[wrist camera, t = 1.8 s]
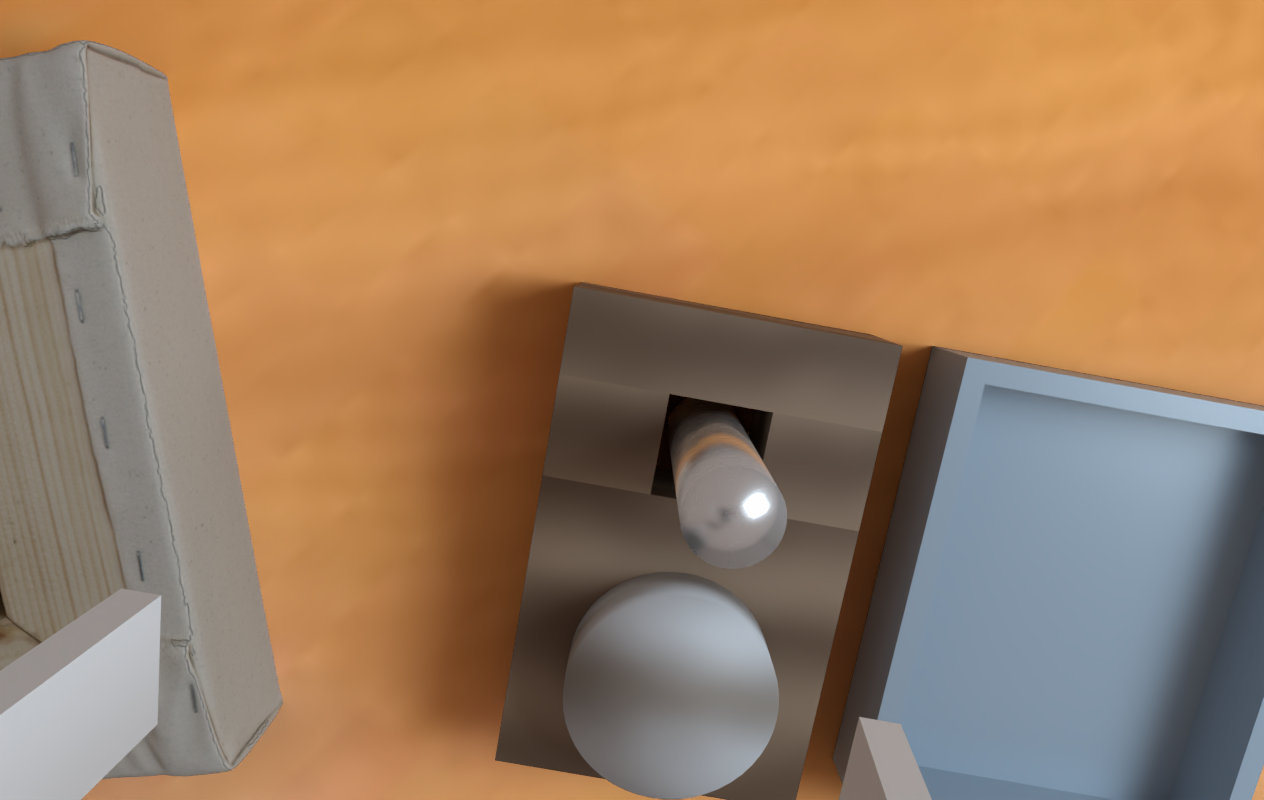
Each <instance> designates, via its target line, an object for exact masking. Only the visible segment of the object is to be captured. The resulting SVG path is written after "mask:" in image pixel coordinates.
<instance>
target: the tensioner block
mask: <svg viewBox="0 0 1264 800" xmlns="http://www.w3.org/2000/svg"><path fill="white" fill-rule="evenodd" d="M901 351H902V346H901V345H898V344H895V343H893V342H890V341H887V340H884V339H882V338H879V337H876V336H873V335H870V334H865V333H859V332H854V331H848V330H843V329H837V328H832V327H826V326H821V325H815V324H810V323H804V322H799V321H793V320H788V319H782V318H777V317H771V316H765V315H760V314H754V313H749V312H743V311H738V310H732V309H727V308H721V307H716V306H710V305H705V304H699V303H694V302H688V301H683V300H677V299H672V298H666V297H661V296H655V295H650V294H644V293H639V292H633V291H628V290H622V289H617V288H611V287H606V286H600V285H595V284H589V283H584V282H582V283H580V284H578V285H576V286H574V290H573V296H572V302H571V308H570V314H569V320H568V326H567V332H566V338H565V344H564V350H563V356H562V362H561V368H560V374H559V380H558V386H557V392H556V398H555V404H554V410H553V416H552V422H551V428H550V434H549V440H548V446H547V452H546V458H545V464H544V470H543V476H542V482H541V488H540V494H539V500H538V506H537V512H536V518H535V524H534V530H533V536H532V542H531V548H530V554H529V560H528V566H527V572H526V578H525V584H524V590H523V596H522V602H521V608H520V614H519V620H518V626H517V632H516V638H515V644H514V650H513V656H512V662H511V668H510V674H509V680H508V686H507V692H506V698H505V704H504V710H503V716H502V722H501V728H500V734H499V740H498V746H497V752H496V758H495V760H497V761H503V762H509V763H515V764H520V765H526V766H532V767H538V768H544V769H550V770H556V771H562V772H567V773H573V774H579V775H585V776H591V777H597V778H603V779H607V780H608V781H609V782H611V783H612V784H614V785H616V786H618V787H620V788H622V789H624V790H627V791H629V792H632V793H635V794H638V795H642V796H646V797H651V798H659V799H683V798H690V797H695V796H699V795H703V796H708V797H714V798H720V799H726V800H796V796H797V792H798V788H799V784H800V779H801V775H802V771H803V767H804V762H805V758H806V754H807V750H808V745H809V741H810V737H811V733H812V728H813V724H814V720H815V716H816V711H817V707H818V703H819V699H820V694H821V690H822V686H823V682H824V677H825V673H826V669H827V665H828V660H829V656H830V652H831V648H832V644H833V639H834V635H835V631H836V627H837V622H838V618H839V614H840V610H841V605H842V601H843V597H844V593H845V588H846V584H847V580H848V576H849V571H850V567H851V563H852V559H853V554H854V550H855V546H856V542H857V537H858V533H859V529H860V525H861V520H862V516H863V512H864V508H865V503H866V499H867V495H868V491H869V486H870V482H871V478H872V474H873V469H874V465H875V461H876V457H877V453H878V448H879V444H880V440H881V436H882V431H883V427H884V423H885V419H886V414H887V410H888V406H889V402H890V397H891V393H892V389H893V385H894V380H895V376H896V372H897V368H898V363H899V359H900V355H901ZM669 394H673V395H678V396H684V397H690V398H695V399H701V400H706V401H712V402H717V403H723V404H729V405H734V406H740V407H745V408H751V409H754V413H753V418H752V423H751V428H750V432H749V438H750V440H751V442H752V444H753V445H754V447H755V449H756V451H757V452H758V454H759V456H760V457H761V459H762V461H763V463H764V464H765V466H766V468H767V470H768V471H769V473H770V475H771V476H772V478H773V480H774V482H775V483H776V485H777V487H778V489H779V490H780V492H781V494H782V496H783V498H784V501H785V504H786V509H787V524H786V529H785V532H784V535H783V537H782V540H781V541H780V543H779V545H778V546H777V547H776V549H775V550H774V551H773V552H772V553H771V554H770V555H769V556H768V557H766V558H765V559H764V560H762V561H760V562H759V563H757V564H754V565H752V566H749V567H745V568H739V569H726V568H720V567H716V566H714V565H711V564H709V563H707V562H705V561H703V560H702V559H701V558H699V557H698V556H697V555H696V554H695V553H694V552H693V551H692V550H691V549H690V548H689V546H688V544H687V543H686V541H685V539H684V537H683V534H682V531H681V525H680V518H679V511H678V504H677V497H676V490H675V483H674V476H673V470H669V469H664V468H658V467H656V463H657V457H658V452H659V447H660V441H661V436H662V431H663V426H664V420H665V415H666V410H667V405H668V399H669Z"/></svg>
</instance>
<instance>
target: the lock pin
mask: <svg viewBox="0 0 1264 800" xmlns="http://www.w3.org/2000/svg"><path fill="white" fill-rule="evenodd" d="M667 434H668V441H669V448H670V455H671V462H672V469H673V476H674V483H675V490H676V497H677V504H678V511H679V518H680V525H681V531H682V534H683V537H684V539H685V541H686V543H687V544H688V546H689V548H690V549H691V550H692V551H693V552H694V553H695V554H696V555H697V556H698V557H699V558H701V559H702V560H703V561H705V562H707V563H709V564H711V565H714V566H716V567H720V568H726V569H739V568H745V567H749V566H752V565H754V564H757V563H759V562H760V561H762V560H764V559H765V558H766V557H768V556H769V555H770V554H771V553H772V552H773V551H774V550H775V549H776V547H777V546H778V545H779V543H780V541H781V540H782V537H783V535H784V532H785V529H786V524H787V509H786V504H785V501H784V498H783V496H782V494H781V492H780V490H779V489H778V487H777V485H776V483H775V482H774V480H773V478H772V476H771V475H770V473H769V471H768V470H767V468H766V466H765V464H764V463H763V461H762V459H761V457H760V456H759V454H758V452H757V451H756V449H755V447H754V445H753V444H752V442H751V440H750V438H749V437H748V435H747V433H746V431H745V430H744V428H743V426H742V425H741V423H740V421H739V419H738V418H737V416H736V414H735V412H734V411H733V409H732V408H731V407H730V406H729V405H728V404H723V403H717V402H712V401H706V400H701V399H695V398H690V397H689V398H687V399H685V400H684V401H682V402H681V403H680V404H678V405H677V406H676V408H675V409H674V410H673V412H672V414H671V415H670V418H669V421H668V426H667Z"/></svg>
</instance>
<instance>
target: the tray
mask: <svg viewBox="0 0 1264 800" xmlns="http://www.w3.org/2000/svg"><path fill="white" fill-rule="evenodd" d="M859 717H863V718H869V719H875V720H880V721H886V722H892V723H898V724H901V726H902V728H903V731H904V733H905V735H906V738H907V740H908V743H909V745H910V748H911V750H912V752H913V755H914V757H915V760H916V762H917V765H918V767H919V770H920V772H921V774H922V777H923V779H924V782H925V784H926V787H927V789H928V791H929V794H930V796H931V799H932V800H1252V797H1253V794H1254V791H1255V788H1256V785H1257V782H1258V780H1259V777H1260V774H1261V771H1262V768H1263V765H1264V406H1261V405H1256V404H1250V403H1245V402H1239V401H1234V400H1228V399H1223V398H1217V397H1212V396H1206V395H1201V394H1195V393H1190V392H1184V391H1179V390H1173V389H1168V388H1162V387H1157V386H1151V385H1146V384H1140V383H1134V382H1129V381H1123V380H1118V379H1112V378H1107V377H1101V376H1096V375H1090V374H1085V373H1079V372H1074V371H1068V370H1063V369H1057V368H1052V367H1046V366H1041V365H1035V364H1030V363H1024V362H1019V361H1013V360H1008V359H1002V358H997V357H991V356H986V355H980V354H975V353H969V352H964V351H958V350H953V349H947V348H942V347H936V346H932V350H931V354H930V358H929V362H928V366H927V371H926V375H925V379H924V383H923V387H922V391H921V395H920V400H919V404H918V408H917V412H916V416H915V420H914V424H913V428H912V433H911V437H910V441H909V445H908V449H907V453H906V457H905V462H904V466H903V470H902V474H901V478H900V482H899V486H898V491H897V495H896V499H895V503H894V507H893V511H892V515H891V520H890V524H889V528H888V532H887V536H886V540H885V544H884V548H883V553H882V557H881V561H880V565H879V569H878V573H877V577H876V582H875V586H874V590H873V594H872V598H871V602H870V606H869V611H868V615H867V619H866V623H865V627H864V631H863V635H862V640H861V644H860V648H859V652H858V656H857V660H856V664H855V668H854V673H853V677H852V681H851V685H850V689H849V693H848V697H847V702H846V706H845V710H844V714H843V718H842V722H841V726H840V731H839V735H838V739H837V743H836V747H835V751H834V755H833V761H834V764H835V766H836V769H837V772H838V774H839V777H840V780H841V782H842V785H843V781H844V777H845V773H846V769H847V765H848V760H849V756H850V752H851V748H852V744H853V740H854V736H855V732H856V728H857V724H858V720H859Z"/></svg>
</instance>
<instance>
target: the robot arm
mask: <svg viewBox="0 0 1264 800" xmlns="http://www.w3.org/2000/svg"><path fill="white" fill-rule="evenodd" d="M160 621H161V595H157V594H151V593H145V592H139V591H134V590H128V589H122V588H121V589H120V590H118V591H117V592H115V593H114V594H112V595H111V596H109V597H108V598H107V599H105V600H104V601H102V602H101V603H99V604H98V605H96V606H95V607H93V608H92V609H90V610H89V611H87V612H86V613H84V614H83V615H81V616H80V617H79V618H77V619H76V620H74V621H73V622H71V623H70V624H68V625H67V626H65V627H64V628H62V629H61V630H59V631H58V632H56V633H55V634H54V635H52V636H51V637H49V638H48V639H46V640H45V641H43V642H42V643H40V644H39V645H37V646H36V647H34V648H33V649H31V650H30V651H28V652H27V653H26V654H24V655H23V656H21V657H20V658H18V659H17V660H15V661H14V662H12V663H11V664H9V665H8V666H6V667H5V668H3V669H2V670H1V671H0V800H81V799H82V798H83V797H84V796H85V795H86V794H87V793H88V792H89V791H90V790H91V789H92V788H93V787H94V786H95V785H96V784H97V783H98V782H99V781H100V780H101V779H102V778H103V777H104V776H105V775H106V774H107V773H108V772H109V771H110V770H111V769H112V768H113V767H115V766H116V765H117V764H118V763H119V762H120V761H121V760H122V759H123V758H124V757H125V756H126V755H127V754H128V753H129V752H130V751H131V750H132V749H133V748H134V747H135V746H136V745H137V744H138V743H139V742H140V741H141V740H142V739H143V738H144V737H145V736H146V735H147V734H148V733H149V732H150V731H151V730H152V729H153V728H154V727H155V726H156V725H157V724H158V692H159V656H160ZM839 800H932V799H931V796H930V794H929V791H928V789H927V787H926V784H925V782H924V779H923V777H922V774H921V772H920V770H919V767H918V765H917V762H916V760H915V757H914V755H913V752H912V750H911V748H910V745H909V743H908V740H907V738H906V735H905V733H904V731H903V728H902V726H901V724H898V723H892V722H886V721H880V720H875V719H869V718H863V717H859V720H858V724H857V728H856V732H855V736H854V740H853V744H852V748H851V752H850V756H849V760H848V765H847V769H846V773H845V777H844V781H843V785H842V789H841V793H840V797H839Z"/></svg>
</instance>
